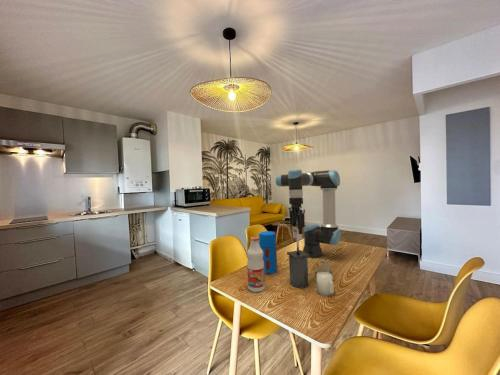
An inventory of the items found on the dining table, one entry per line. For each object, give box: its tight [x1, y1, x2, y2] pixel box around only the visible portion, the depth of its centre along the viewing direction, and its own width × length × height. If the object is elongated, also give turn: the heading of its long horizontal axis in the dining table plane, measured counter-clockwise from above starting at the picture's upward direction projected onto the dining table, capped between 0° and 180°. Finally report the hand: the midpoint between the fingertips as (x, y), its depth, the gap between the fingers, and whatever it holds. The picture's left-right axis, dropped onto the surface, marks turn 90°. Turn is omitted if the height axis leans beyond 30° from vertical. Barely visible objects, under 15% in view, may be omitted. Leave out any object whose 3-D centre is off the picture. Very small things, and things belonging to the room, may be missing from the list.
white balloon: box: [316, 272, 335, 297], centre depth 106 cm, size 8×10×9 cm
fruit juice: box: [246, 236, 266, 293], centre depth 114 cm, size 9×9×28 cm
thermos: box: [258, 230, 278, 276], centre depth 135 cm, size 11×11×25 cm
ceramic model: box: [313, 260, 335, 282], centre depth 123 cm, size 14×11×10 cm
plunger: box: [294, 225, 300, 255], centre depth 117 cm, size 8×8×18 cm
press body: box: [286, 249, 310, 289], centre depth 118 cm, size 10×13×17 cm
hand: (297, 238), depth 117 cm, fingers closed on plunger, 4 cm apart
